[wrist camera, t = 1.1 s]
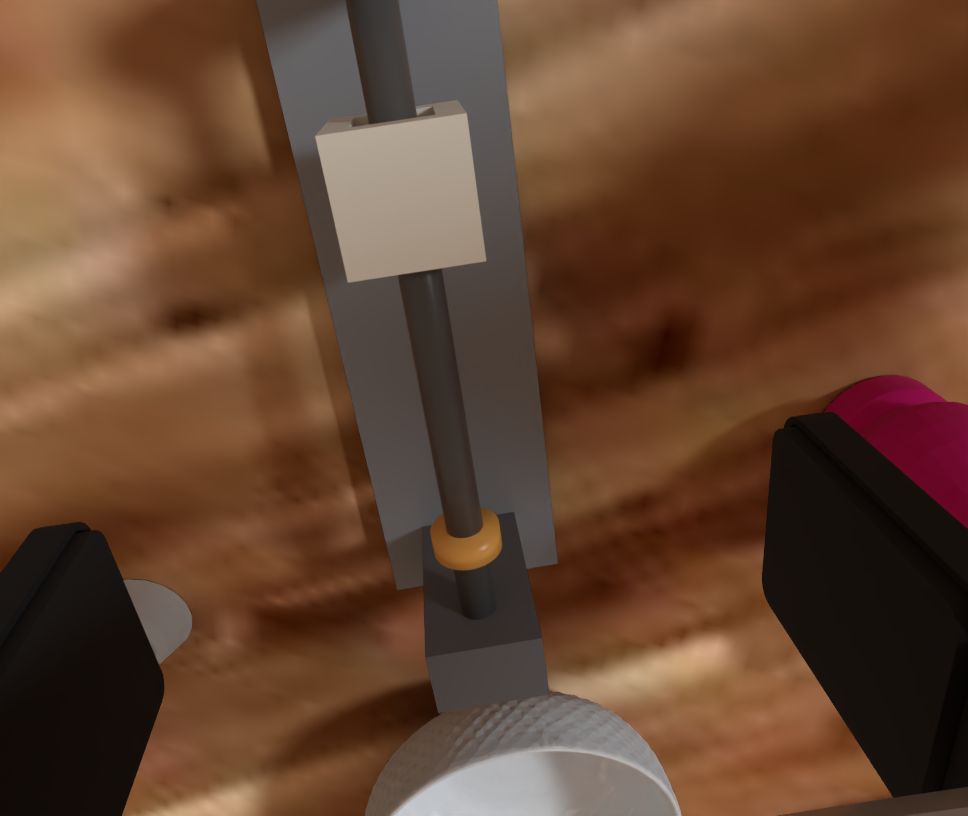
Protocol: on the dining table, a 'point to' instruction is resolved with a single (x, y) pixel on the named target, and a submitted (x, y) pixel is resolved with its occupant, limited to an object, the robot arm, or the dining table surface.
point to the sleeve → (403, 192)
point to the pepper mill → (914, 434)
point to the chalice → (160, 616)
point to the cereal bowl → (524, 764)
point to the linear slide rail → (435, 337)
